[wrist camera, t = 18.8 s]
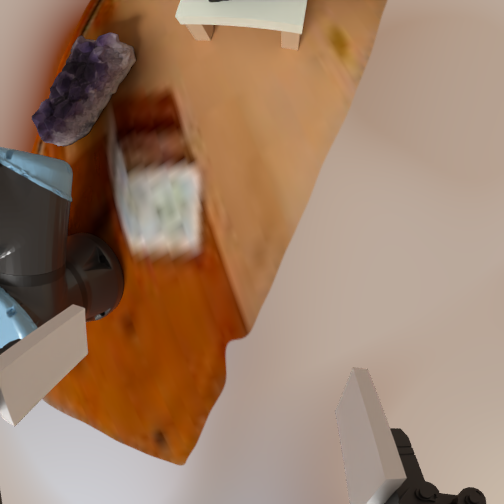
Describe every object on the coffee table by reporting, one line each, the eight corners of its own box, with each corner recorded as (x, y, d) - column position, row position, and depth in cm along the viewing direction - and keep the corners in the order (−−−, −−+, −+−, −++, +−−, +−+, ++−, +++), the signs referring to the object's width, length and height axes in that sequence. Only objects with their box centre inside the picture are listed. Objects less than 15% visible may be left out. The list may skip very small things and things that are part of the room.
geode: (90, 163, 46) (46, 161, 36) (55, 135, 47) (14, 131, 37) (151, 52, 40) (114, 28, 30) (108, 36, 41) (72, 16, 31)
